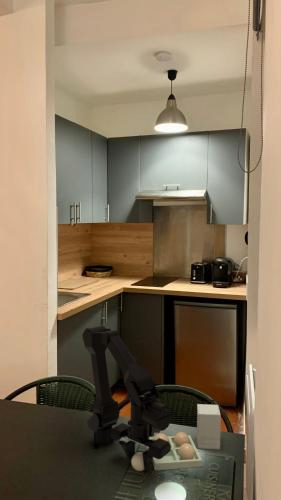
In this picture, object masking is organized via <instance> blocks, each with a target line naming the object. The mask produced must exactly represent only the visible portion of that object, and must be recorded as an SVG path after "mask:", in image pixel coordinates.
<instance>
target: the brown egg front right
mask: <svg viewBox="0 0 281 500" xmlns="http://www.w3.org/2000/svg"><path fill="white" fill-rule="evenodd" d="M194 455H195V450H194V448H193V446H192V445H190V444H187V443H185V444H182V445H181V446H180V448H179V456H180V458H181V459H182V460H191V459H193V458H194Z"/></svg>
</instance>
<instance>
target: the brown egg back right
mask: <svg viewBox="0 0 281 500" xmlns="http://www.w3.org/2000/svg"><path fill="white" fill-rule="evenodd" d="M188 435H189V434H187V433H186V432H183V431H180V432H177V433H176V434H175V435H174V436H175V437H174V444H175V445H176V447H177V448H178V447H180V446H181V445H182V444H185V443H187V444H189V437H188Z"/></svg>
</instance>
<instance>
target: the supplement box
mask: <svg viewBox="0 0 281 500" xmlns="http://www.w3.org/2000/svg"><path fill="white" fill-rule="evenodd" d="M196 410H197V411H196V412H197V413H196V414H197V415H196V444H197V449H205V450H220V449H221V417H222V415H221V411H220V408H219V405H218V404H201V403H197V405H196Z"/></svg>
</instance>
